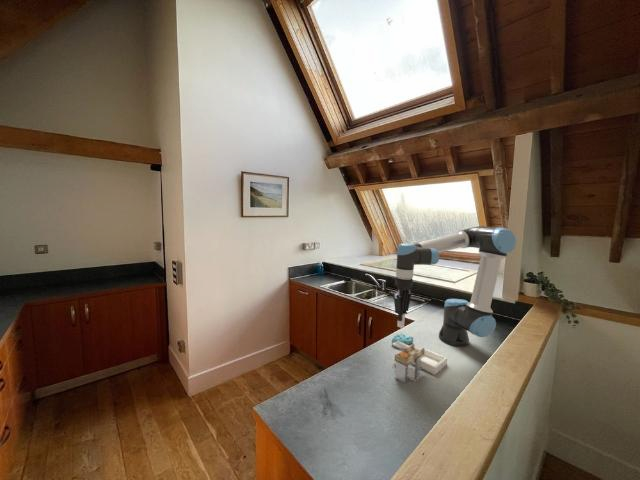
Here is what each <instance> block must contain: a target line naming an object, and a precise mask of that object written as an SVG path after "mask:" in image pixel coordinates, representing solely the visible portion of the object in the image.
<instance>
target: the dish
mask: <svg viewBox="0 0 640 480" xmlns="http://www.w3.org/2000/svg"><path fill="white" fill-rule="evenodd" d="M422 348H423V347H421V348H420V349H419V350H421V349H422ZM419 359H421V362H420V370H423V371H426V372H428V373H430V374H432V375H434V376H436V375H437V374H438V373H439V372H441V371H442V370H443V369H444V368H446V366H448V357H447V356H444V355H441V354H438V353H436V352H435V351H432V350H430V349H428V348H425V351H424V355H422V356H421V357H419ZM410 365H413V366H415V362H412V363H411V364H410Z"/></svg>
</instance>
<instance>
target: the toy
mask: <svg viewBox="0 0 640 480" xmlns="http://www.w3.org/2000/svg"><path fill="white" fill-rule="evenodd" d="M396 341H399V342H402V343H404V344H406V345H411V344H414V337H413V336H411V335H409V336H406V335H405V333H400V334H398V333H396V334H395V335H394V336H393V337H392V339H391V344H392V343H394V342H396Z"/></svg>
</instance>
